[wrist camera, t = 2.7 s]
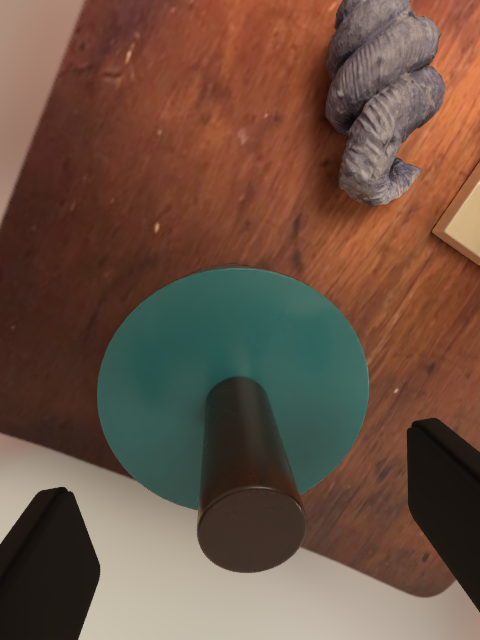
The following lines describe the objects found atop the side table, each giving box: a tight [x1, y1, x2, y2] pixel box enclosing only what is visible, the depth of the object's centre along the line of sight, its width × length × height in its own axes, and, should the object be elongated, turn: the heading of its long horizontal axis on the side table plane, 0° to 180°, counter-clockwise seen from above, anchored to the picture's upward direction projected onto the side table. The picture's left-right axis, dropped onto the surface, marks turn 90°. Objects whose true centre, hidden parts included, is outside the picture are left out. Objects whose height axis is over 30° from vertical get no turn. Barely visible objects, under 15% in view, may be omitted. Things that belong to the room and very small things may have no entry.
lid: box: [97, 267, 369, 573], centre depth 10 cm, size 11×11×7 cm
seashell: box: [325, 0, 445, 207], centre depth 15 cm, size 5×5×10 cm
